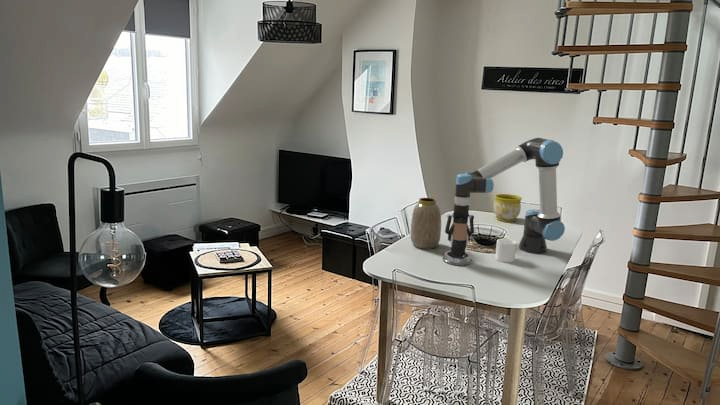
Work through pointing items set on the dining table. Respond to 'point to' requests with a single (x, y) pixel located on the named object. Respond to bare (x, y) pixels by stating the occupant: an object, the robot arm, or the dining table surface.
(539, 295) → the dining table surface
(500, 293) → the dining table surface
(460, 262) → the ring
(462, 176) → the robot arm
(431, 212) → the vase
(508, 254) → the mug
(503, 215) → the flowerpot
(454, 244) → the travel mug
